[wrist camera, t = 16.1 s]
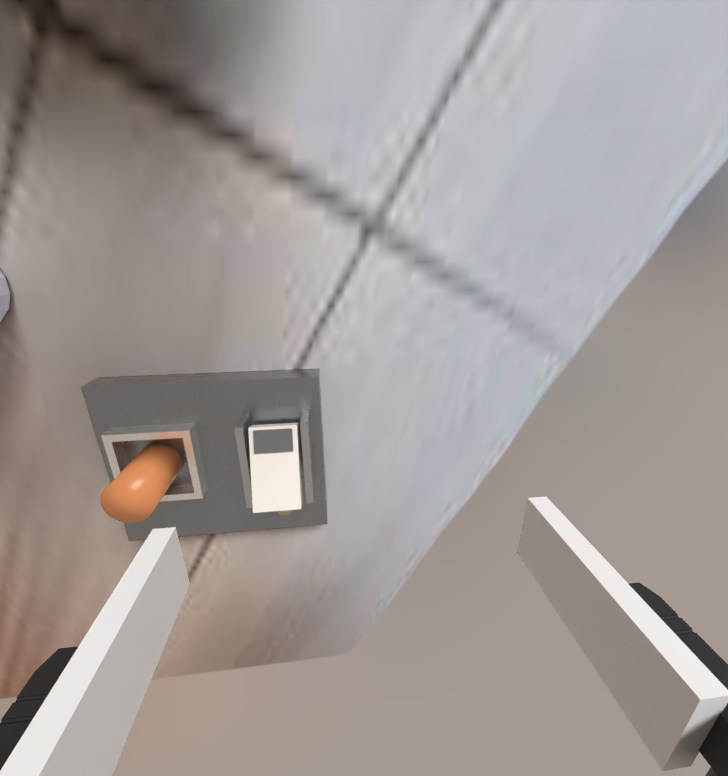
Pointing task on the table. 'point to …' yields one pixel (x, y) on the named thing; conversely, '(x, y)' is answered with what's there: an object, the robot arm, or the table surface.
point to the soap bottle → (4, 296)
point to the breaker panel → (211, 443)
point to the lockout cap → (141, 484)
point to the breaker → (275, 467)
